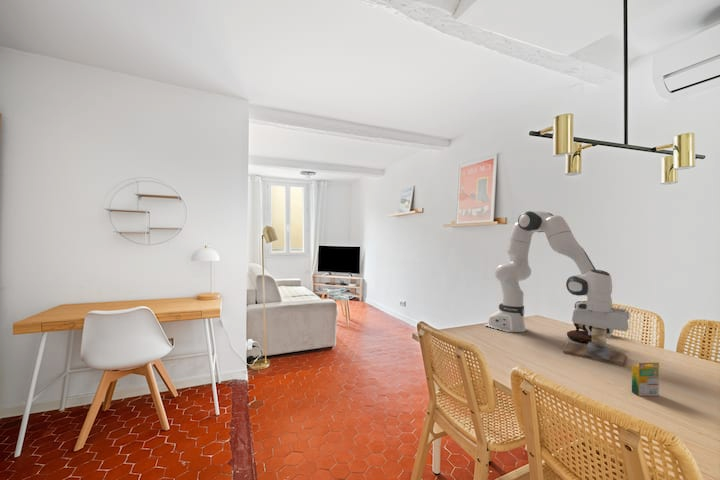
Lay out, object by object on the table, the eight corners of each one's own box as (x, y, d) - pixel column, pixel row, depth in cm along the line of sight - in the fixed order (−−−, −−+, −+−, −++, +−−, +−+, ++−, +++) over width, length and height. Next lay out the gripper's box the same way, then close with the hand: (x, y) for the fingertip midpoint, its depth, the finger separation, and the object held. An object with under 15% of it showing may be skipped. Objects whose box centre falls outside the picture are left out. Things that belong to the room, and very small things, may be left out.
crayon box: (650, 391, 111) (651, 359, 110) (659, 396, 108) (659, 362, 107) (630, 392, 110) (631, 359, 110) (638, 396, 107) (639, 362, 107)
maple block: (591, 341, 141) (591, 328, 141) (592, 339, 145) (592, 326, 145) (605, 344, 138) (605, 330, 138) (606, 341, 141) (606, 328, 141)
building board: (563, 352, 147) (563, 329, 147) (568, 344, 159) (568, 322, 159) (624, 365, 133) (624, 339, 132) (625, 355, 145) (625, 331, 144)
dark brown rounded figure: (608, 345, 158) (609, 305, 158) (578, 344, 158) (579, 305, 158) (587, 335, 173) (588, 299, 172) (560, 335, 173) (561, 299, 173)
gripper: (629, 308, 137) (629, 340, 137) (573, 301, 150) (573, 330, 150) (629, 311, 132) (629, 343, 132) (571, 304, 145) (571, 333, 146)
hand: (598, 336), depth 141 cm, fingers closed on maple block, 5 cm apart
